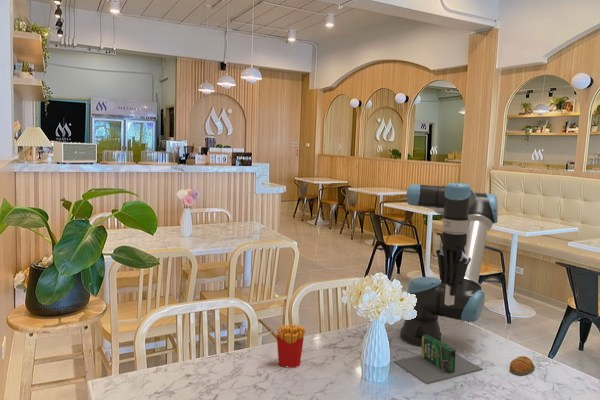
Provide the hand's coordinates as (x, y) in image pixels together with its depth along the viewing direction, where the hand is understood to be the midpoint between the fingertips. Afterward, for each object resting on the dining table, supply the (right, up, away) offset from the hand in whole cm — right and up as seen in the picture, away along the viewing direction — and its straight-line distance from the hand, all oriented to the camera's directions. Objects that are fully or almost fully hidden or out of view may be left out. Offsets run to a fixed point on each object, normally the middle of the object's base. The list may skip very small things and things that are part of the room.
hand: (449, 304), depth 152 cm
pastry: (+25, -23, +5) cm, 35 cm away
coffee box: (+1, -18, -1) cm, 18 cm away
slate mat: (-2, -22, +5) cm, 22 cm away
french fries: (-51, -21, +3) cm, 55 cm away
